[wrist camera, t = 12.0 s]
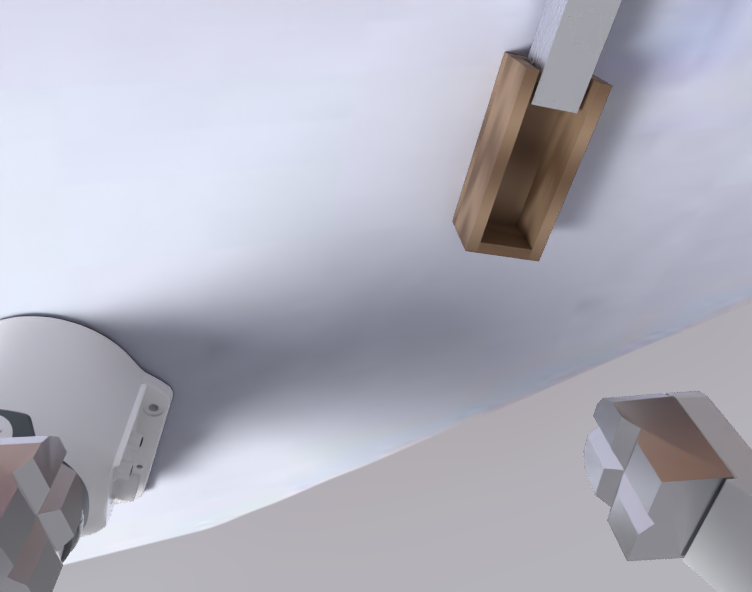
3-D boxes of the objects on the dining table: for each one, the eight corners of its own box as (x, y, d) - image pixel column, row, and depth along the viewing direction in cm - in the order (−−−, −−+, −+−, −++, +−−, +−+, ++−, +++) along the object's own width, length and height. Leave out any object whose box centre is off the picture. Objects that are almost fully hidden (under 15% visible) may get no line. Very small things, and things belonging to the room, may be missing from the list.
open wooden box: (519, 231, 43) (538, 261, 39) (452, 221, 42) (465, 250, 38) (582, 68, 36) (612, 85, 33) (504, 52, 35) (526, 67, 32)
